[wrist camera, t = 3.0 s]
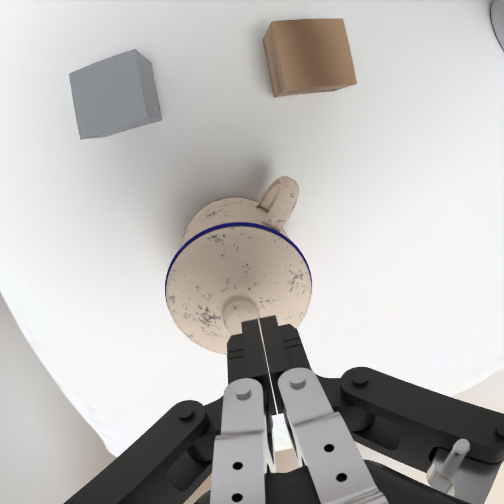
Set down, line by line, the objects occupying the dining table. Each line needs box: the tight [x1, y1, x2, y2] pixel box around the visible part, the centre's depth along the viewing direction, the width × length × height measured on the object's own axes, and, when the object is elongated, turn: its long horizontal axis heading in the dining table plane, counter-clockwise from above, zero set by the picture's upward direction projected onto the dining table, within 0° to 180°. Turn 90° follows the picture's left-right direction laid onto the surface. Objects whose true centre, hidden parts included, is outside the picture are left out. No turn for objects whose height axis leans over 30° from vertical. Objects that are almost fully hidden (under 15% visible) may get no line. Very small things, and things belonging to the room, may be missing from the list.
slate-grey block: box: [69, 49, 162, 139], centre depth 20 cm, size 5×5×5 cm
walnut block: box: [263, 19, 357, 97], centre depth 20 cm, size 5×5×5 cm
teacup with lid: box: [165, 176, 312, 355], centre depth 22 cm, size 12×9×12 cm
